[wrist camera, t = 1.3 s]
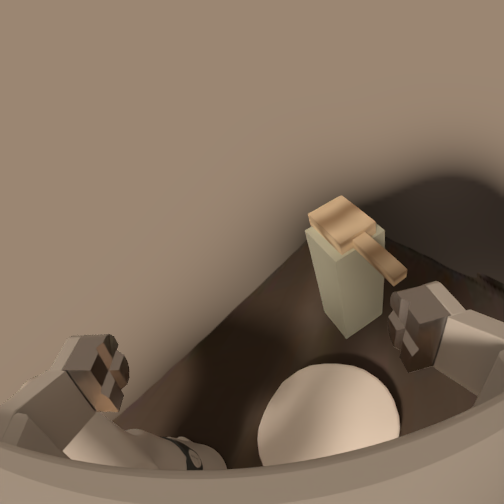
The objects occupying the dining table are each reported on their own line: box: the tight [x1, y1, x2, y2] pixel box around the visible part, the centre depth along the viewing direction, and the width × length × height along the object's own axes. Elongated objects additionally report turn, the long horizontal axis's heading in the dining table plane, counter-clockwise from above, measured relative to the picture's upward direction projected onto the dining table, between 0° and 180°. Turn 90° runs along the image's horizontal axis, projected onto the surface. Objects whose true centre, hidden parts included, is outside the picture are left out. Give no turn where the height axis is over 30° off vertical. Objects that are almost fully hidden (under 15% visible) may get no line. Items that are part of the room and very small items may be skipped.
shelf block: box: [305, 224, 385, 339], centre depth 59 cm, size 10×9×26 cm
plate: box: [257, 364, 400, 466], centre depth 49 cm, size 28×6×27 cm
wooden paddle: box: [308, 196, 407, 286], centre depth 46 cm, size 18×7×2 cm, turn 25°
